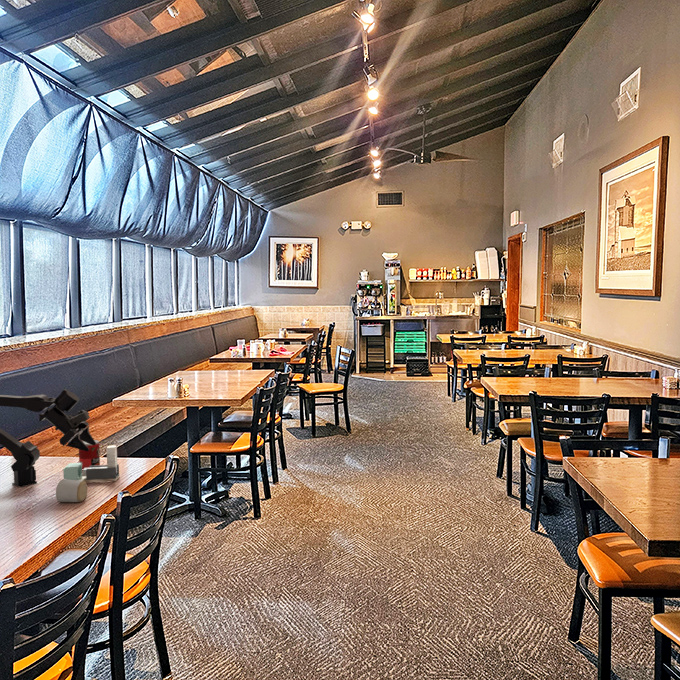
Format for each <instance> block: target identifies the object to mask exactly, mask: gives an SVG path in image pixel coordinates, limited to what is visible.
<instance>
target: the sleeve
mask: <svg viewBox="0 0 680 680" xmlns="http://www.w3.org/2000/svg"><path fill="white" fill-rule="evenodd" d="M89 467H107V464H100V465H95V466H89ZM117 470H118V473H117V474H116V467H114V468H94V469H86V480H99V479H116V478H117V477H118V476H119V475H120V464H118V463H117Z"/></svg>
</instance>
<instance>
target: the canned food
mask: <svg viewBox="0 0 680 680" xmlns="http://www.w3.org/2000/svg"><path fill="white" fill-rule="evenodd" d="M94 441H95V442H96V444H95V445H91V444H89V443H87V442H84V441H83V442H84V443H85V445H86V446H87V447H88V448H89V450H88V451H83V450H80V449H78V463H82V469H84V468H89V466H95V465H101V458H100V457H101V456H100V453H101V452H100V441H99V439H98V440H97V439H94Z"/></svg>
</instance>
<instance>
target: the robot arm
mask: <svg viewBox="0 0 680 680" xmlns="http://www.w3.org/2000/svg"><path fill="white" fill-rule="evenodd" d="M79 401H80V398H79V396H78V395H77V394H76V393H73V392H72V391H69V390H67V388H65V389H63V390H62V391H61V393H60V394H59V395H58V396H57V397H49V396H48V395H46V394H33V395H26V396H23V395H22V396H21V395H10V394H9V395H7V394H0V407H7V408H8V407H10V408H11V407H12V408H21V409H25V410H27V411H30V412H34V413H39V414H38V416H39V417H38V422H40V423H41V422H42V421H44V420H46V421H48V422H49V423H50V424H51V425H52V426H54V427H55V428H54V430H55V431H59V432H60V433H62V434H63V435H62V436H61V437H60V439H59V444H60V445H61V446H62V447H69V448H73V449H77V450H79V449H80V450H83V451H88V450H89V448H88V447H87V446H86V445H85V443H84V442H87V443H89V444H91V445H95V444H96V442H95V441H94V440H95V439H94V437H93V436H92V434H91V433H90V423H89V422H88V420H89V419H91V416H90V415H89V414H90V412H88V411H87V410H84V409H81V410H79V411H78V412H77V415H75V416H72V415H67V414H66V413H65V412H70V411H71V410H72V409H73V408H74V407H75V406H76V405H77V403H79ZM51 406H53V407H51ZM43 411H44V412H43ZM40 412H43V413H40ZM83 441H84V442H83ZM0 445H1V446H2V447H3V448H5V449H7V451H9V452H10V453H11V456H12V457H13V458H14V460H15V462H14V463H12V465H10V468H11V470H12V471H13V482H12V484H11V485H13V486H16V487H18V488H23V487H27V486H31V485H34V484H38V481H37V469H35V464H36V462H37V461H39V459H40V457H41V452H40V449H38V446H37V445H34V444H33V443H32V442H31V441H30V440H27V441H25V442H22V441H20V440H18V439H17V438H15V437H14V436H12V434H9V433H8V432H7V431H5V430H4V429H3V428H1V427H0Z"/></svg>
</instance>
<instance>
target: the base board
mask: <svg viewBox="0 0 680 680" xmlns="http://www.w3.org/2000/svg"><path fill="white" fill-rule="evenodd" d="M119 476H120V474H119ZM119 476H118V477H117V478H116V479H99V480H86V476H83V475H82V477H81V478H80V479H79V480H80V481H84V482H85V483H86V484H88V483H87V482H100V483H108V482H107V481H116V480H117V479H118V480H119V478H120V477H119ZM118 480H117V481H118ZM117 481H116V482H117Z"/></svg>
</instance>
